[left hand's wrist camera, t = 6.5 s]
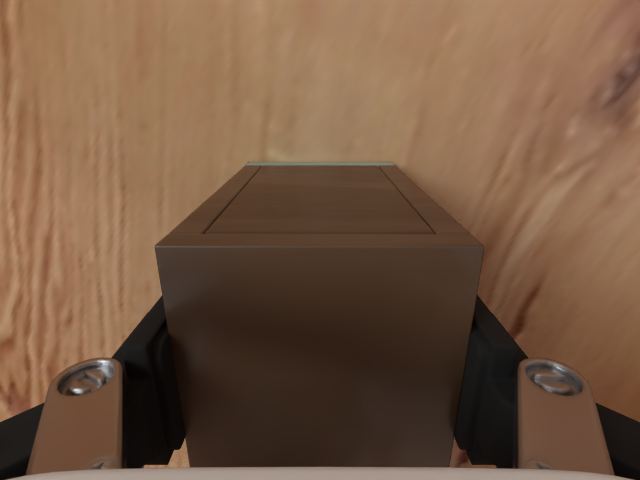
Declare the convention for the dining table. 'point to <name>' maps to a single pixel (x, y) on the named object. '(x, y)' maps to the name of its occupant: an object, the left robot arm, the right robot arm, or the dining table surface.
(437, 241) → the cabinet
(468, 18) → the dining table surface
